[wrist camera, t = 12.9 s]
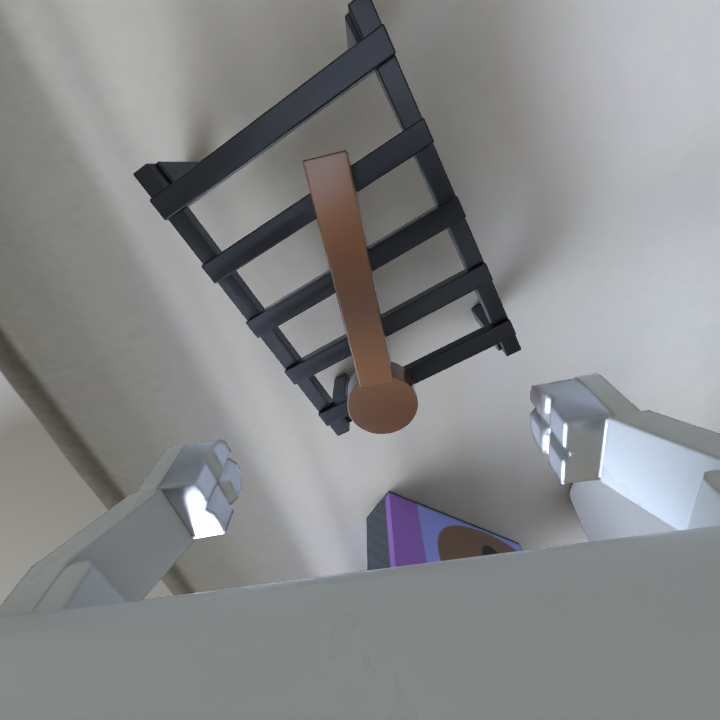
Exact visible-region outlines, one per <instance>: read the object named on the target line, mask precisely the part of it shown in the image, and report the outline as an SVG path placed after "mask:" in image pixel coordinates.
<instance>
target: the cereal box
mask: <svg viewBox="0 0 720 720" xmlns="http://www.w3.org/2000/svg"><path fill="white" fill-rule="evenodd" d="M515 551H521V548H520V546H519V543H517V542H514V541H512V540H509V539H507V538H504V537H502V536H499V535H497V534H494V533H492V532H489V531H487V530H484V529H482V528H479V527H477V526H474V525H472V524H469V523H467V522H465V521H462V520H460V519H457V518H455V517H452V516H450V515H447V514H445V513H442V512H440V511H437V510H435V509H432V508H430V507H427V506H425V505H422V504H420V503H417V502H415V501H412V500H410V499H407V498H405V497H402V496H400V495H397V494H395V493H392V492H390V491H389V492H388V493H387V494H386V495H385V497H384V498H383V499H382V500H381V501H380V503H379V504H378V505H377V506H376V508H375V509H374V510H373V511H372V513H371V514H370V515H369V516H368V517H367V558H368V570H376V569H383V568H391V567H399V566H406V565H414V564H422V563H430V562H437V561H445V560H453V559H461V558H468V557H476V556H484V555H492V554H499V553H507V552H515Z"/></svg>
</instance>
